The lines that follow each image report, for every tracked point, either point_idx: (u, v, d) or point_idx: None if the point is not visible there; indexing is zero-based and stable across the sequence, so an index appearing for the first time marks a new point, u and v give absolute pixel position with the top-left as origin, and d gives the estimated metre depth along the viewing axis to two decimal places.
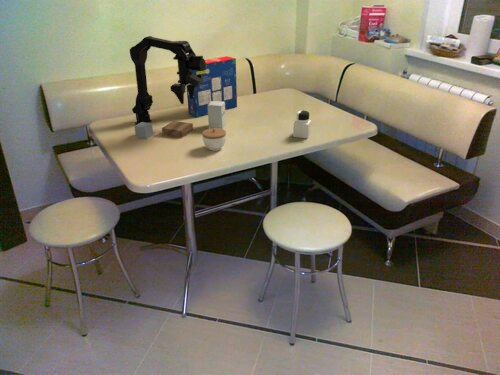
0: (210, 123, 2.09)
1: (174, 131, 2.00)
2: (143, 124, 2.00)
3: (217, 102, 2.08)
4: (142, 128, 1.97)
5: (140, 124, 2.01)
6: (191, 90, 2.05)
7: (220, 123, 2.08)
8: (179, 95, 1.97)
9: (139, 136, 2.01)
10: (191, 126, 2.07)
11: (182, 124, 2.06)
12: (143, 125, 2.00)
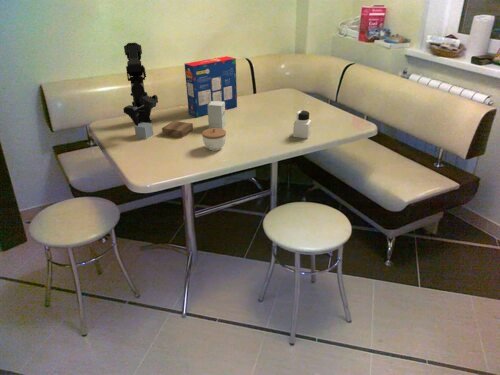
0: (210, 123, 2.09)
1: (174, 131, 2.00)
2: (143, 124, 2.00)
3: (217, 102, 2.08)
4: (142, 128, 1.97)
5: (140, 124, 2.01)
6: (148, 111, 2.01)
7: (220, 123, 2.08)
8: (133, 117, 1.93)
9: (139, 136, 2.01)
10: (191, 126, 2.07)
11: (182, 124, 2.06)
12: (143, 125, 2.00)
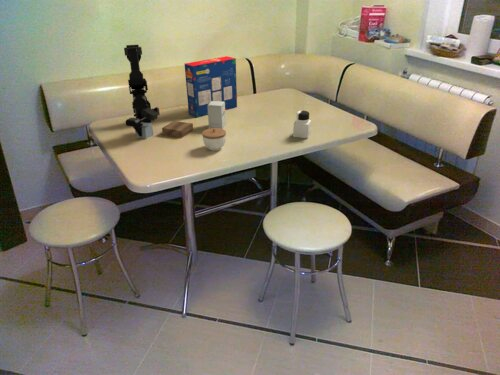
0: (210, 123, 2.09)
1: (174, 131, 2.00)
2: (143, 124, 2.00)
3: (217, 102, 2.08)
4: (142, 128, 1.97)
5: None
6: None
7: (220, 123, 2.08)
8: (137, 128, 1.97)
9: (139, 136, 2.01)
10: (191, 126, 2.07)
11: (182, 124, 2.06)
12: (143, 125, 2.00)
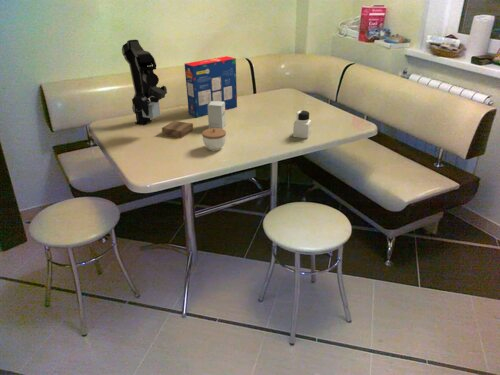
0: (210, 123, 2.09)
1: (174, 131, 2.00)
2: None
3: (217, 102, 2.08)
4: (149, 107, 1.94)
5: None
6: None
7: (220, 123, 2.08)
8: (143, 107, 1.93)
9: None
10: (191, 126, 2.07)
11: (182, 124, 2.06)
12: (149, 104, 1.96)
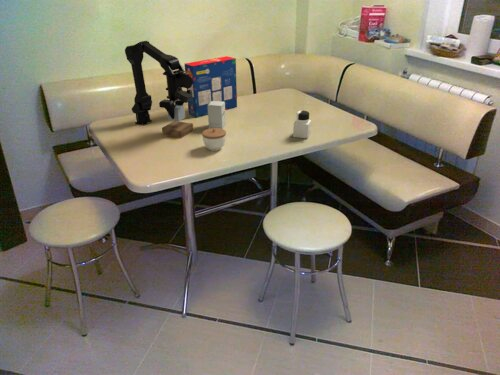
0: (210, 123, 2.09)
1: (174, 131, 2.00)
2: None
3: (217, 102, 2.08)
4: (175, 110, 1.98)
5: None
6: None
7: (220, 123, 2.08)
8: (169, 110, 1.97)
9: (171, 118, 2.01)
10: (191, 126, 2.07)
11: (182, 124, 2.06)
12: (175, 107, 2.00)
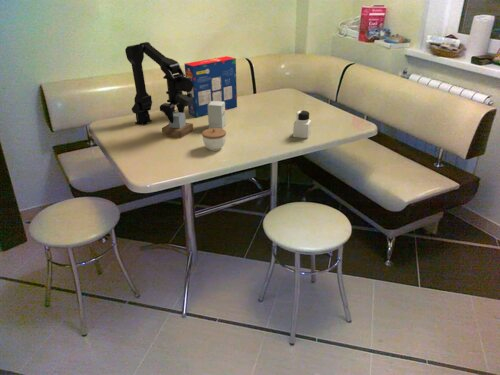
0: (210, 123, 2.09)
1: (174, 131, 2.00)
2: (176, 114, 2.02)
3: (217, 102, 2.08)
4: (176, 117, 1.99)
5: (173, 114, 2.02)
6: (181, 109, 2.05)
7: (220, 123, 2.08)
8: (169, 114, 1.97)
9: (172, 126, 2.02)
10: (191, 126, 2.07)
11: None
12: (176, 114, 2.01)
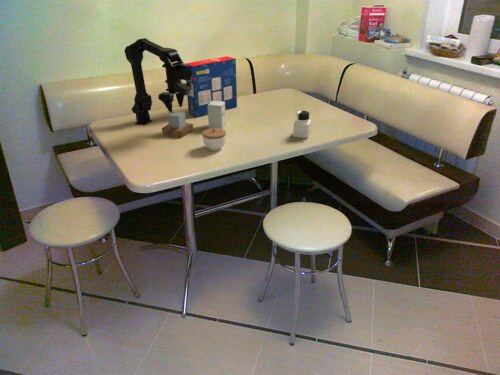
0: (210, 123, 2.09)
1: (174, 131, 2.00)
2: (176, 113, 2.03)
3: (217, 102, 2.08)
4: (176, 117, 2.00)
5: (173, 113, 2.03)
6: (180, 98, 2.03)
7: (220, 123, 2.08)
8: (167, 104, 1.94)
9: (172, 125, 2.03)
10: (191, 126, 2.07)
11: None
12: (176, 114, 2.02)
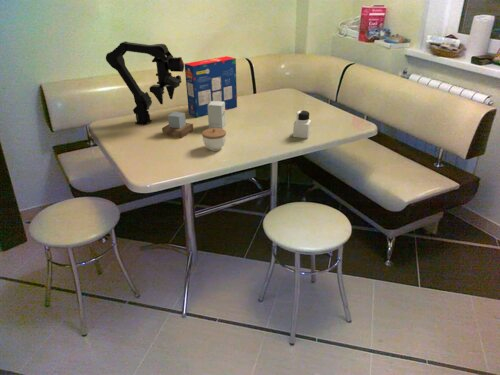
0: (210, 123, 2.09)
1: (174, 131, 2.00)
2: (176, 114, 2.02)
3: (217, 102, 2.08)
4: (176, 117, 1.99)
5: (173, 114, 2.02)
6: (171, 91, 2.14)
7: (220, 123, 2.08)
8: (158, 96, 2.05)
9: (172, 126, 2.02)
10: (191, 126, 2.07)
11: None
12: (176, 114, 2.02)
